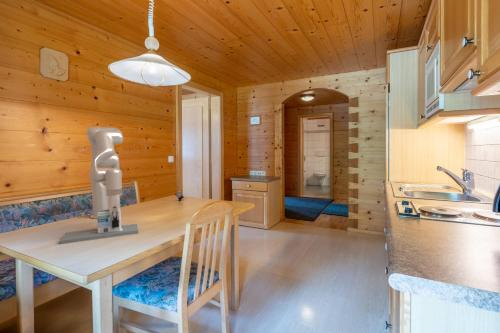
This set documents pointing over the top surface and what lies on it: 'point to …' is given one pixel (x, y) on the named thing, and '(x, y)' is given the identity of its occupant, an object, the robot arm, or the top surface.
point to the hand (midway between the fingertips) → (115, 225)
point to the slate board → (97, 234)
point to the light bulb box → (107, 221)
